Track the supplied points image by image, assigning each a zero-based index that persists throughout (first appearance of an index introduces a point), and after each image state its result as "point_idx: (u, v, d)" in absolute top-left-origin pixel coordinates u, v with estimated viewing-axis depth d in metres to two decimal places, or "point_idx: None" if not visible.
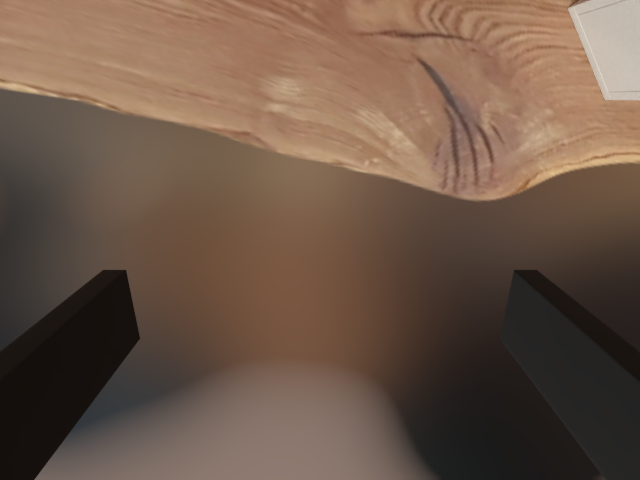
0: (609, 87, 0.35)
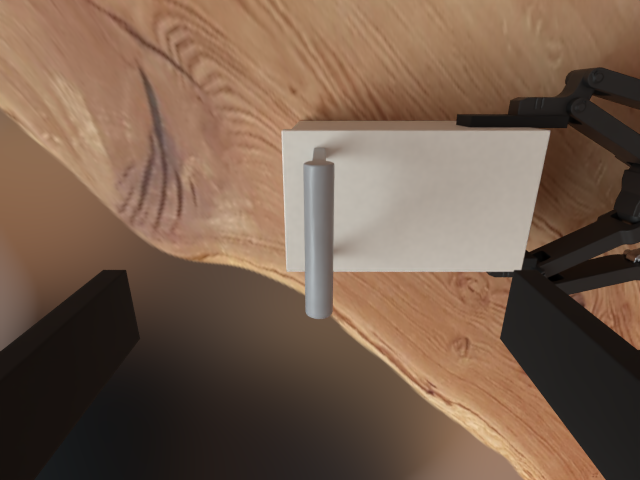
0: None
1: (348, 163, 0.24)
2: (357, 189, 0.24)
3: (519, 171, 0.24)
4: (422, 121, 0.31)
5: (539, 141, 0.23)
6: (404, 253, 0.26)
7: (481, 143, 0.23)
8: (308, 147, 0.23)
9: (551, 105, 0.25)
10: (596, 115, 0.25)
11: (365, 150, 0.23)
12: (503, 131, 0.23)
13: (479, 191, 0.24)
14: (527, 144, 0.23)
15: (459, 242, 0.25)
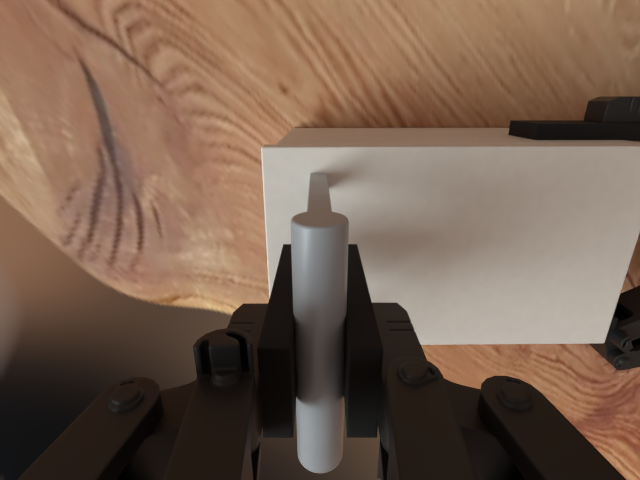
0: None
1: (362, 195, 0.16)
2: (374, 232, 0.16)
3: (615, 206, 0.16)
4: (455, 128, 0.24)
5: None
6: (440, 320, 0.18)
7: (562, 165, 0.15)
8: (302, 172, 0.15)
9: None
10: None
11: (387, 176, 0.15)
12: (596, 147, 0.15)
13: (554, 234, 0.16)
14: (630, 167, 0.15)
15: (519, 305, 0.18)
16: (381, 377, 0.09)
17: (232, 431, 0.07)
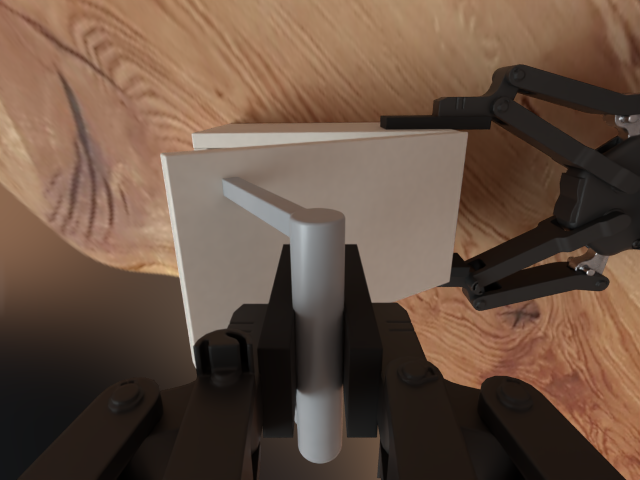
0: None
1: None
2: None
3: (446, 178, 0.22)
4: (355, 123, 0.30)
5: (460, 144, 0.21)
6: None
7: (414, 151, 0.20)
8: (213, 178, 0.14)
9: (473, 105, 0.24)
10: (520, 115, 0.23)
11: (293, 173, 0.16)
12: (433, 136, 0.20)
13: (414, 206, 0.21)
14: (451, 149, 0.21)
15: (399, 267, 0.22)
16: (381, 377, 0.09)
17: (232, 431, 0.07)
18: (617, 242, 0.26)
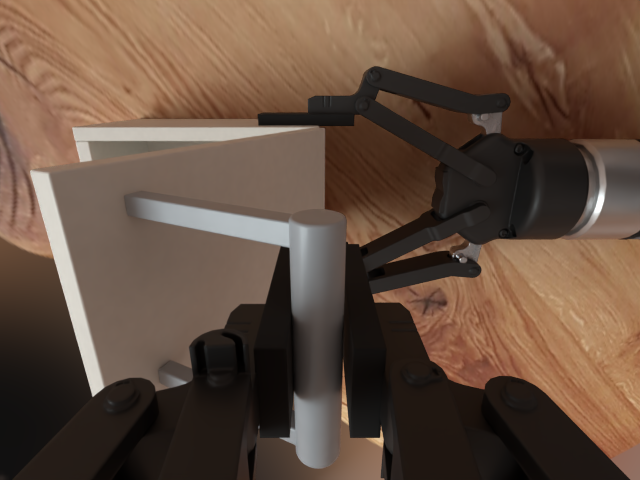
0: None
1: None
2: (197, 243, 0.15)
3: (314, 171, 0.23)
4: (254, 119, 0.32)
5: (321, 139, 0.23)
6: (254, 302, 0.19)
7: (292, 148, 0.20)
8: (113, 196, 0.11)
9: (339, 103, 0.25)
10: (381, 113, 0.25)
11: (197, 180, 0.14)
12: (303, 132, 0.21)
13: (296, 200, 0.22)
14: (316, 144, 0.23)
15: None
16: (384, 377, 0.09)
17: (228, 431, 0.07)
18: (484, 232, 0.28)
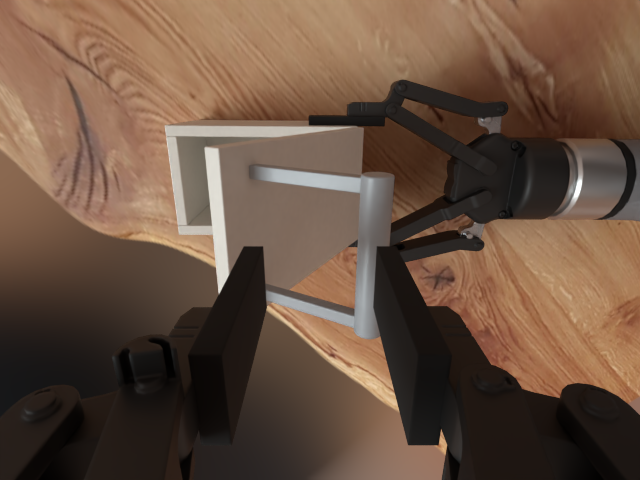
0: None
1: None
2: (282, 204, 0.22)
3: (355, 161, 0.30)
4: None
5: (360, 136, 0.30)
6: (311, 255, 0.26)
7: (341, 141, 0.27)
8: (244, 165, 0.18)
9: (373, 108, 0.32)
10: (406, 116, 0.32)
11: (284, 160, 0.21)
12: (349, 130, 0.28)
13: None
14: (357, 139, 0.29)
15: (336, 230, 0.29)
16: (450, 384, 0.08)
17: (155, 438, 0.06)
18: (487, 213, 0.35)
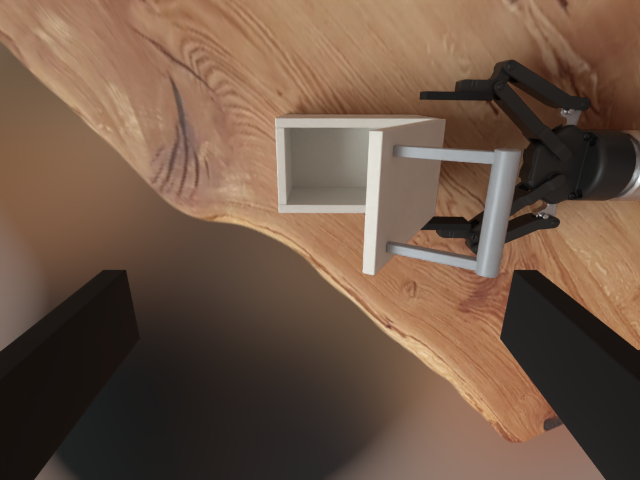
0: None
1: (402, 156, 0.26)
2: (403, 178, 0.27)
3: None
4: None
5: (443, 126, 0.35)
6: (412, 224, 0.32)
7: (434, 130, 0.32)
8: (391, 145, 0.24)
9: (482, 85, 0.37)
10: (509, 94, 0.37)
11: (408, 143, 0.27)
12: (438, 121, 0.33)
13: (431, 164, 0.34)
14: (441, 129, 0.35)
15: (425, 205, 0.34)
16: None
17: None
18: (558, 194, 0.41)
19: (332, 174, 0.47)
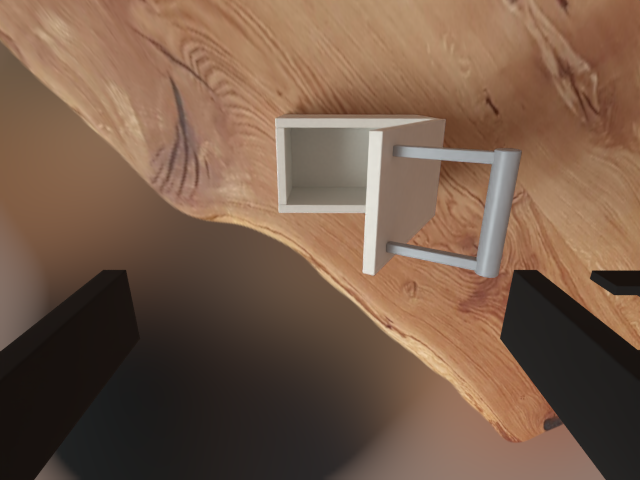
0: None
1: (402, 156, 0.26)
2: (403, 178, 0.27)
3: None
4: None
5: (443, 126, 0.35)
6: (412, 224, 0.32)
7: (434, 130, 0.32)
8: (391, 145, 0.24)
9: None
10: None
11: (408, 143, 0.27)
12: (438, 121, 0.33)
13: (431, 164, 0.34)
14: (441, 129, 0.35)
15: (425, 205, 0.34)
16: None
17: None
18: None
19: (332, 174, 0.47)
